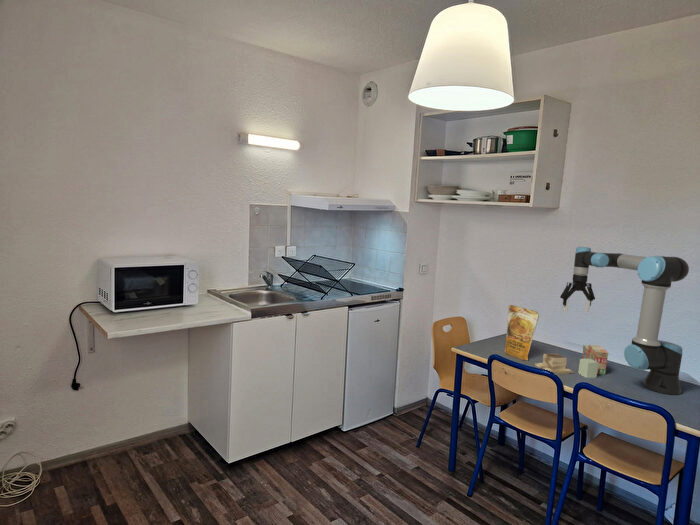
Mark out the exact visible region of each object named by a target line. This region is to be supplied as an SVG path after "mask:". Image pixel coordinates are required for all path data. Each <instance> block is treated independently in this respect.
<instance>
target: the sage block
mask: <svg viewBox="0 0 700 525" xmlns="http://www.w3.org/2000/svg"><path fill="white" fill-rule="evenodd" d="M578 363H579V365H578V372H577V373H579V374H578V375H580V374H581V375H580V376H582V377H583V378H585V379H595V378H596V379H597V376H598V374H597V370H598V362H596V361H594V360H592V359H582V358H580V359H579V362H578Z"/></svg>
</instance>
